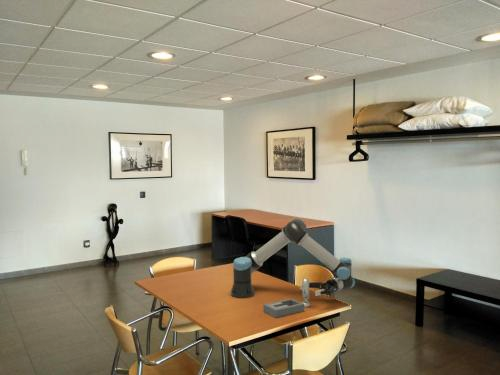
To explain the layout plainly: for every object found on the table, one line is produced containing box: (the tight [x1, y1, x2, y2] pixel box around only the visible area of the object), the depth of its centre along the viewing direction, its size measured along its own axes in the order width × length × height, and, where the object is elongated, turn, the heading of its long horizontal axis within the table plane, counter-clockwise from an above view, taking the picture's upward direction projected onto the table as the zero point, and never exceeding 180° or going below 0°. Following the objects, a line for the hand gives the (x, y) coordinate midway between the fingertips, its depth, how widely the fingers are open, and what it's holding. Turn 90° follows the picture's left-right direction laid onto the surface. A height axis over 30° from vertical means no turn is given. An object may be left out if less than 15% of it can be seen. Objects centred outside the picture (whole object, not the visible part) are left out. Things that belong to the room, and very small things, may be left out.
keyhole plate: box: [262, 298, 305, 319], centre depth 228 cm, size 20×12×4 cm, turn 122°
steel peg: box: [301, 277, 311, 308], centre depth 237 cm, size 5×5×16 cm
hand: (307, 290), depth 237 cm, fingers open, 13 cm apart
